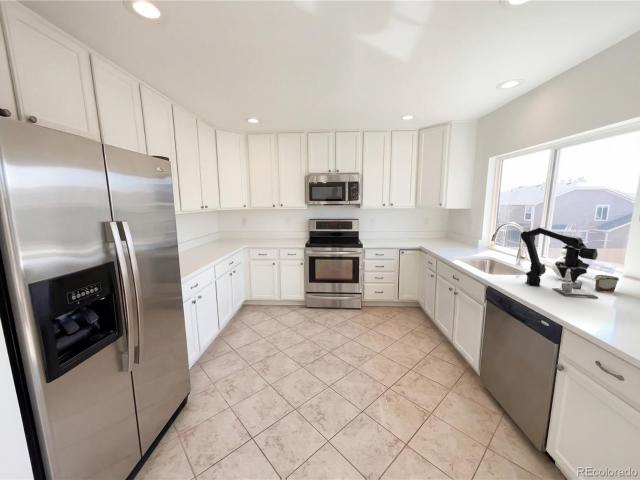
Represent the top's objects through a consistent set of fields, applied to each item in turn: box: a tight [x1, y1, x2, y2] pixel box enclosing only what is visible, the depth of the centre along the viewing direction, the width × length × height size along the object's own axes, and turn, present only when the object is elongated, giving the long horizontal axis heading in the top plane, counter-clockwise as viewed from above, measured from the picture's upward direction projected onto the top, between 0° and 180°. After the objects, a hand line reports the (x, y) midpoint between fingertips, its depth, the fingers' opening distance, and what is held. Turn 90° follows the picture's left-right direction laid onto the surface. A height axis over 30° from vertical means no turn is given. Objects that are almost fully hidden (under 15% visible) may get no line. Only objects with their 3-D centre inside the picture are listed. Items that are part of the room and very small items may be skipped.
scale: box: [551, 287, 599, 300], centre depth 158 cm, size 17×12×1 cm
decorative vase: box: [551, 245, 585, 282], centre depth 185 cm, size 18×18×25 cm
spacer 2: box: [570, 280, 583, 290], centre depth 167 cm, size 5×5×5 cm
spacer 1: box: [560, 281, 573, 292], centre depth 158 cm, size 5×5×5 cm
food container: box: [593, 274, 620, 293], centre depth 163 cm, size 12×6×10 cm, turn 84°
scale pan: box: [555, 287, 596, 296], centre depth 158 cm, size 15×9×1 cm, turn 75°
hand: (568, 279), depth 158 cm, fingers open, 9 cm apart
